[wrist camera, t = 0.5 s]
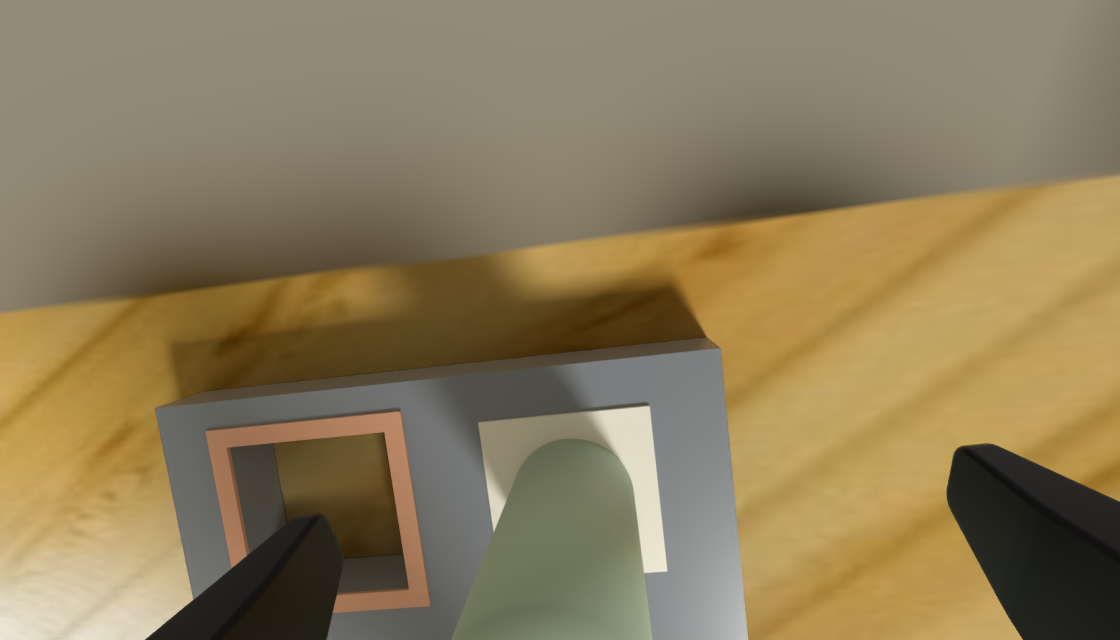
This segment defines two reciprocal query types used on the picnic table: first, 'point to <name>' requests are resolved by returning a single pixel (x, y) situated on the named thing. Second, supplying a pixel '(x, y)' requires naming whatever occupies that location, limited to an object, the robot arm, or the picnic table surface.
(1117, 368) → the picnic table surface
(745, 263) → the picnic table surface
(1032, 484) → the robot arm
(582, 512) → the post
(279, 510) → the slotted grey base
